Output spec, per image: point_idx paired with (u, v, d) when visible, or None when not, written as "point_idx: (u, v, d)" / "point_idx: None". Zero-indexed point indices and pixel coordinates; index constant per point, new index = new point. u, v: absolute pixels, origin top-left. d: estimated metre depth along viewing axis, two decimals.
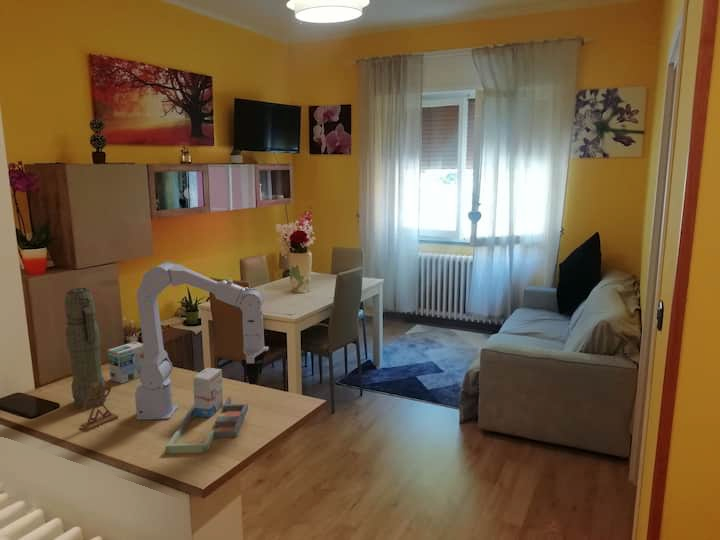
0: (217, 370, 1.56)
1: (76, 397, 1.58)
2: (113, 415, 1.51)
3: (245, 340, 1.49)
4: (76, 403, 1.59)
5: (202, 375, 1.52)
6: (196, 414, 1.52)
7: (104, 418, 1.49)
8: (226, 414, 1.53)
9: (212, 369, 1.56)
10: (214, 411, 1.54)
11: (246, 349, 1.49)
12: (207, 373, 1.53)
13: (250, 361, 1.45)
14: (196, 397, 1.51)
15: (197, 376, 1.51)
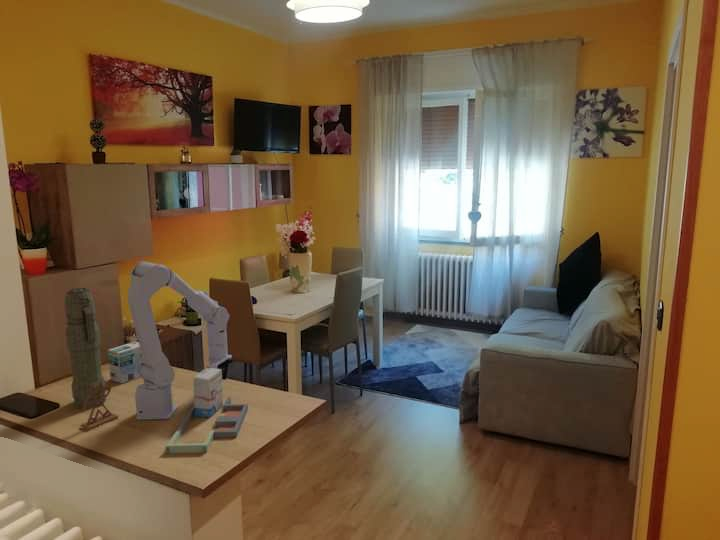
0: (217, 370, 1.56)
1: (76, 397, 1.58)
2: (113, 415, 1.51)
3: (210, 349, 1.65)
4: (76, 403, 1.59)
5: (202, 375, 1.52)
6: (196, 414, 1.52)
7: (104, 418, 1.49)
8: (226, 414, 1.53)
9: (212, 369, 1.56)
10: (214, 411, 1.54)
11: (211, 357, 1.65)
12: (207, 373, 1.53)
13: None
14: (196, 397, 1.51)
15: (197, 376, 1.51)
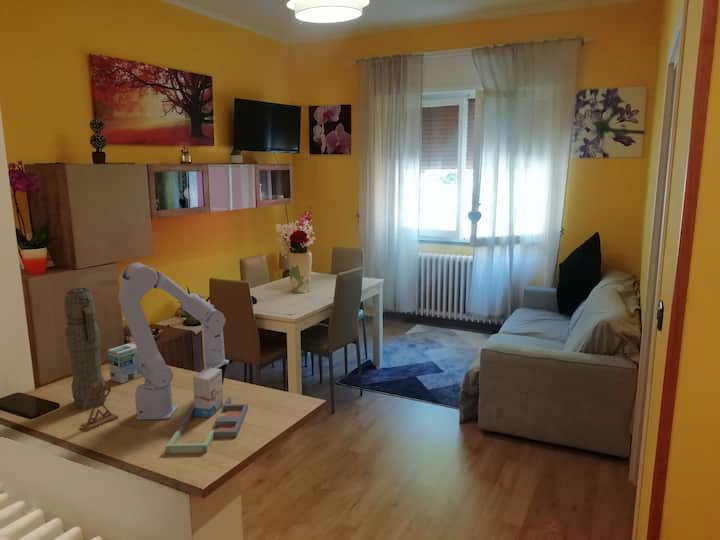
0: (217, 370, 1.56)
1: (76, 397, 1.58)
2: (113, 415, 1.51)
3: (206, 354, 1.61)
4: (76, 403, 1.59)
5: (202, 375, 1.52)
6: (196, 414, 1.52)
7: (104, 418, 1.49)
8: (226, 414, 1.53)
9: (212, 369, 1.56)
10: (214, 411, 1.54)
11: (207, 362, 1.61)
12: (207, 373, 1.53)
13: None
14: (196, 397, 1.51)
15: (197, 376, 1.51)
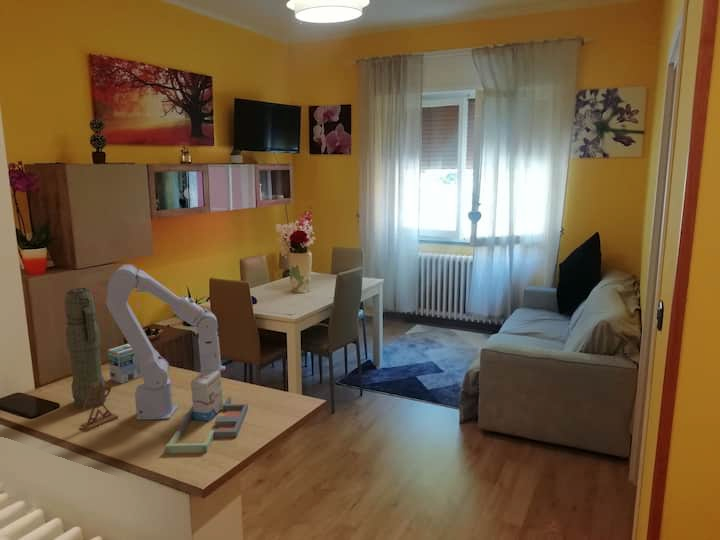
0: (216, 372, 1.53)
1: (76, 397, 1.58)
2: (113, 415, 1.51)
3: (201, 361, 1.54)
4: (76, 403, 1.59)
5: (200, 379, 1.49)
6: (195, 418, 1.50)
7: (104, 418, 1.49)
8: (226, 414, 1.53)
9: (211, 371, 1.53)
10: (213, 414, 1.51)
11: (203, 369, 1.54)
12: None
13: None
14: (194, 401, 1.48)
15: (194, 380, 1.48)
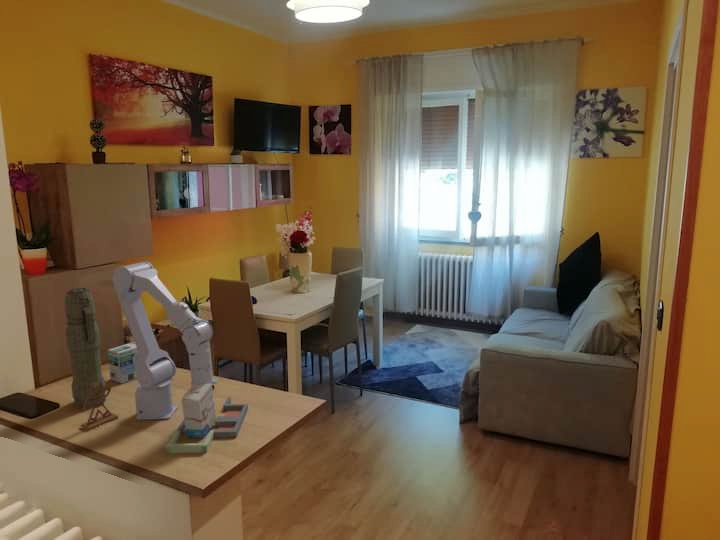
0: (207, 386, 1.42)
1: (76, 397, 1.58)
2: (113, 415, 1.51)
3: (192, 374, 1.44)
4: (76, 403, 1.59)
5: (191, 395, 1.38)
6: (188, 435, 1.40)
7: (104, 418, 1.49)
8: (226, 414, 1.53)
9: (201, 384, 1.43)
10: (207, 430, 1.42)
11: (193, 383, 1.44)
12: None
13: None
14: (186, 419, 1.38)
15: (185, 397, 1.37)
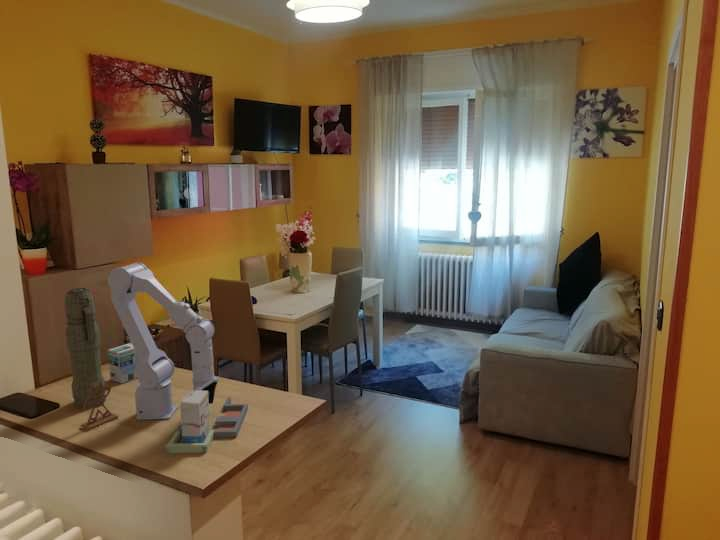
0: (204, 392, 1.40)
1: (76, 397, 1.58)
2: (113, 415, 1.51)
3: (193, 371, 1.47)
4: (76, 403, 1.59)
5: (189, 399, 1.36)
6: None
7: (104, 418, 1.49)
8: (226, 414, 1.53)
9: (198, 391, 1.41)
10: (203, 438, 1.38)
11: (195, 380, 1.47)
12: (194, 396, 1.38)
13: None
14: (184, 425, 1.35)
15: (184, 401, 1.35)
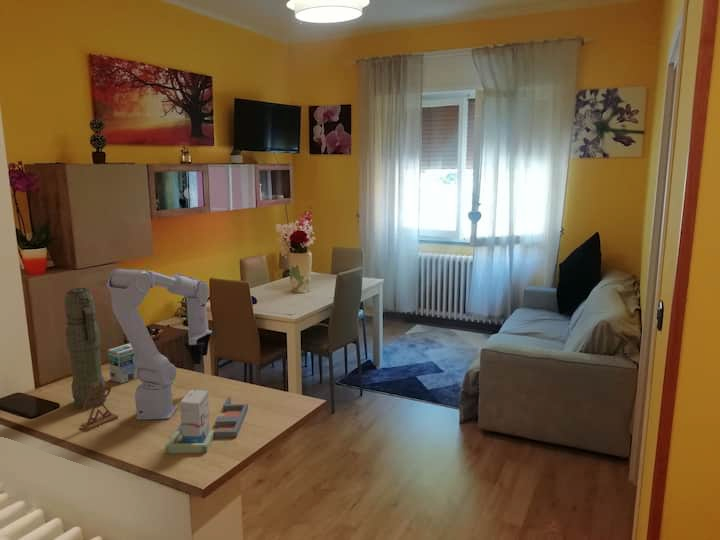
0: (204, 392, 1.41)
1: (76, 397, 1.58)
2: (113, 415, 1.51)
3: (189, 324, 1.64)
4: (76, 403, 1.59)
5: (189, 399, 1.36)
6: None
7: (104, 418, 1.49)
8: (226, 414, 1.53)
9: (197, 391, 1.41)
10: (203, 438, 1.38)
11: (190, 332, 1.64)
12: (194, 396, 1.38)
13: (192, 343, 1.60)
14: (184, 425, 1.35)
15: (184, 401, 1.35)
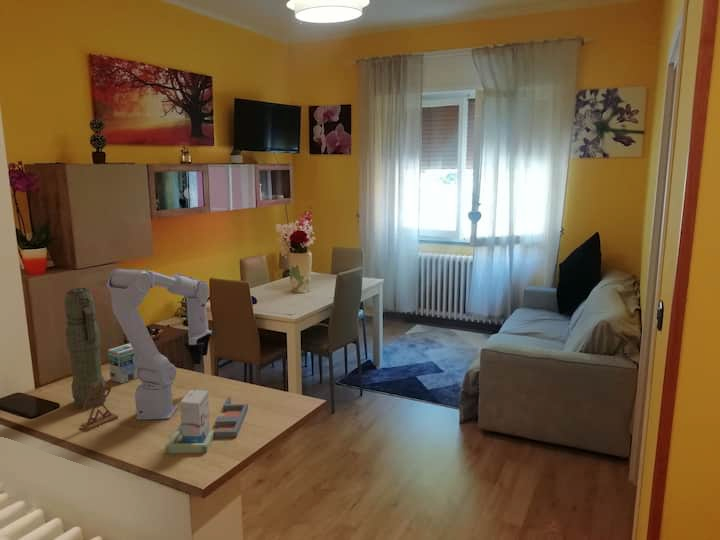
0: (204, 392, 1.41)
1: (76, 397, 1.58)
2: (113, 415, 1.51)
3: (189, 324, 1.64)
4: (76, 403, 1.59)
5: (189, 399, 1.36)
6: None
7: (104, 418, 1.49)
8: (226, 414, 1.53)
9: (198, 391, 1.41)
10: (203, 438, 1.38)
11: (190, 332, 1.64)
12: (194, 396, 1.38)
13: (192, 343, 1.60)
14: (184, 425, 1.35)
15: (184, 401, 1.35)
